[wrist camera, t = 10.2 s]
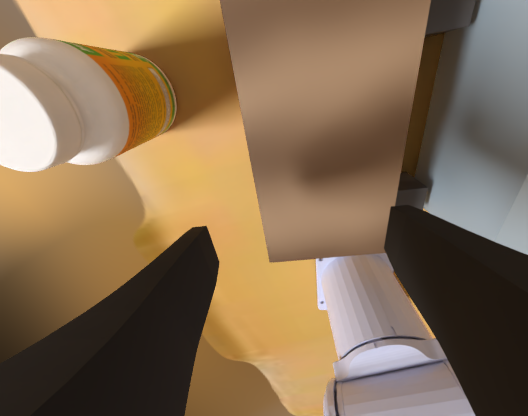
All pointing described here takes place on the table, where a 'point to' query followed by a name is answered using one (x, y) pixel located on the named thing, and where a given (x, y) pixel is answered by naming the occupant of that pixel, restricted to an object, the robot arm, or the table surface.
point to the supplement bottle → (77, 103)
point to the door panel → (481, 126)
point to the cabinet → (331, 114)
